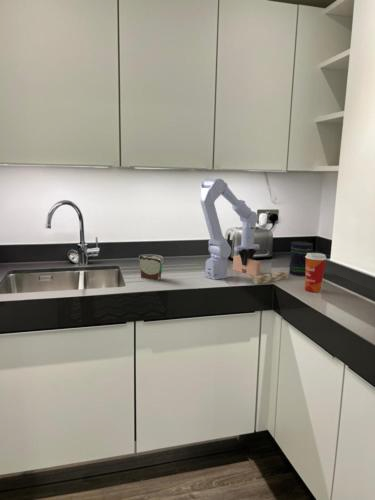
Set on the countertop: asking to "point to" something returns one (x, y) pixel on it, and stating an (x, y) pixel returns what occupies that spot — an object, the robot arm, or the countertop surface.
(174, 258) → the countertop surface
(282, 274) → the birch slotted plate
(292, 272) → the storage jar
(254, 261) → the terracotta slotted plate
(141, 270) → the food container
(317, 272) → the coffee cup
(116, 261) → the countertop surface
